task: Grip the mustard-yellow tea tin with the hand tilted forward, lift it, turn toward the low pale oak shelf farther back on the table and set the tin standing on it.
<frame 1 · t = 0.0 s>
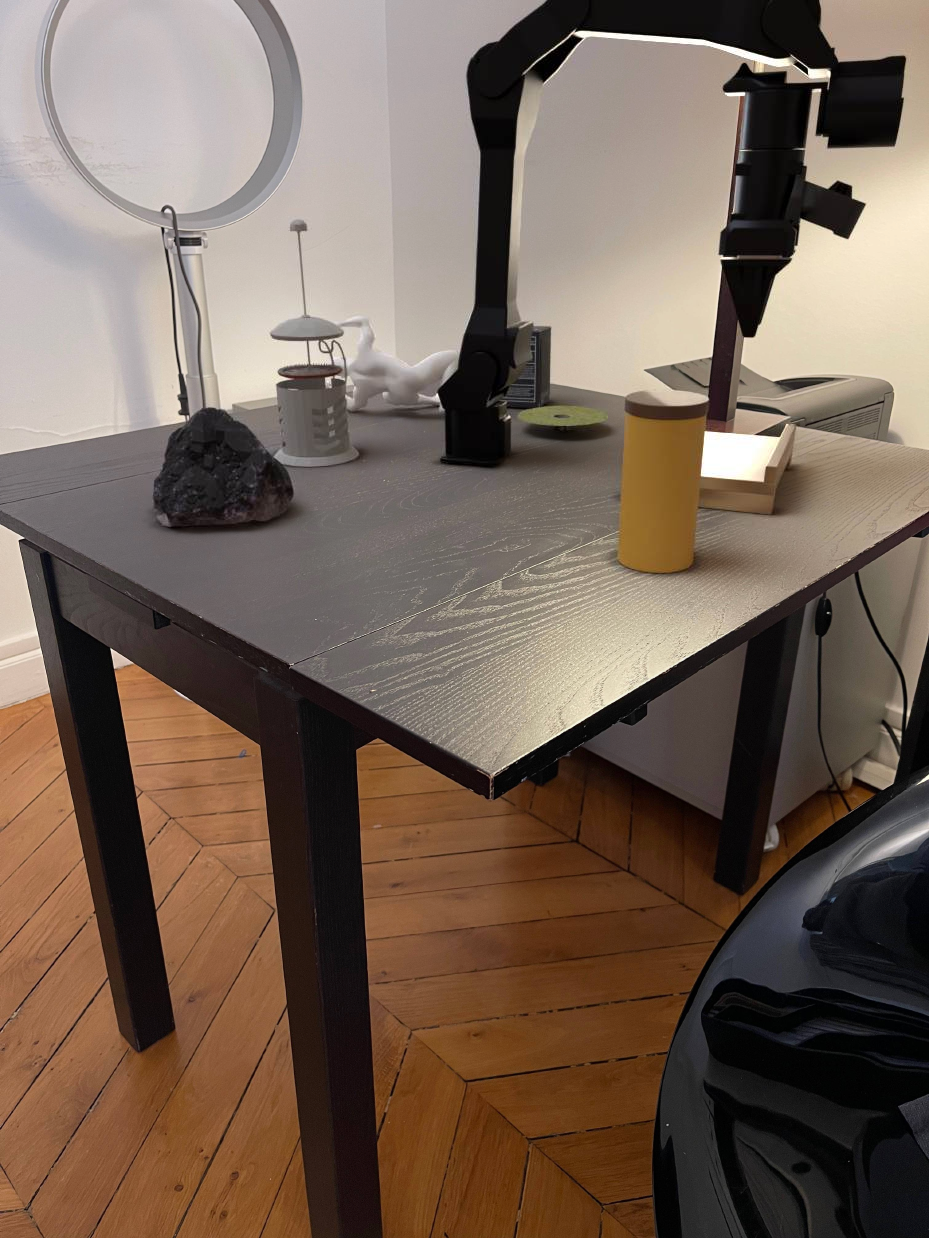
hand: (752, 331, 90), 15 cm above the table, tool pointing down, fingers open, 9 cm apart
tea tin: (654, 559, 75), on the table
green disc: (561, 431, 117), on the table
white curved figure: (395, 415, 127), on the table
small box: (510, 404, 132), on the table
french press: (320, 455, 108), on the table
oak shelf: (710, 481, 95), on the table
crystal cluster: (223, 512, 89), on the table
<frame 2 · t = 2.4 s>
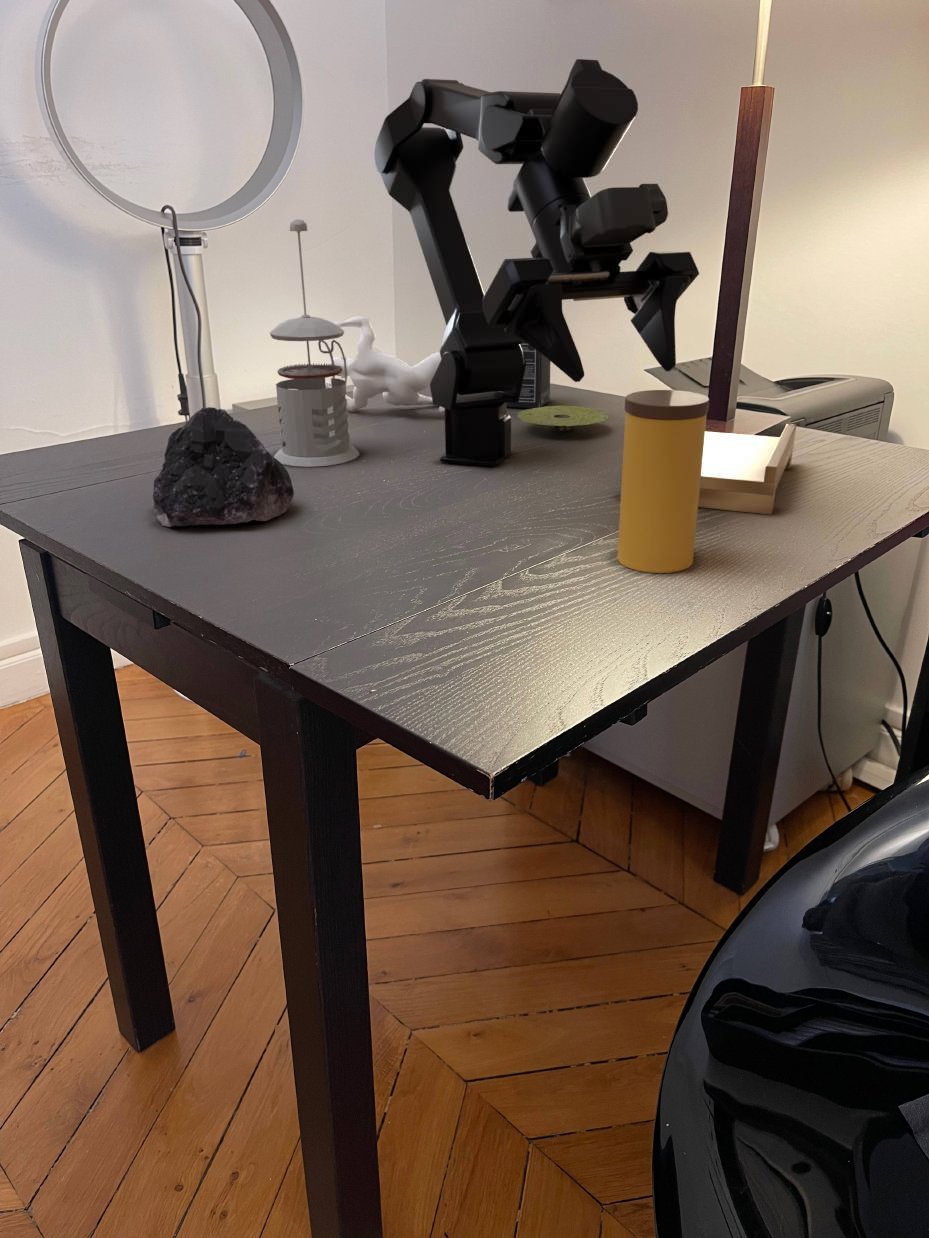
hand: (626, 373, 77), 13 cm above the table, tool tilted 40°, fingers open, 9 cm apart
nothing on the table moved.
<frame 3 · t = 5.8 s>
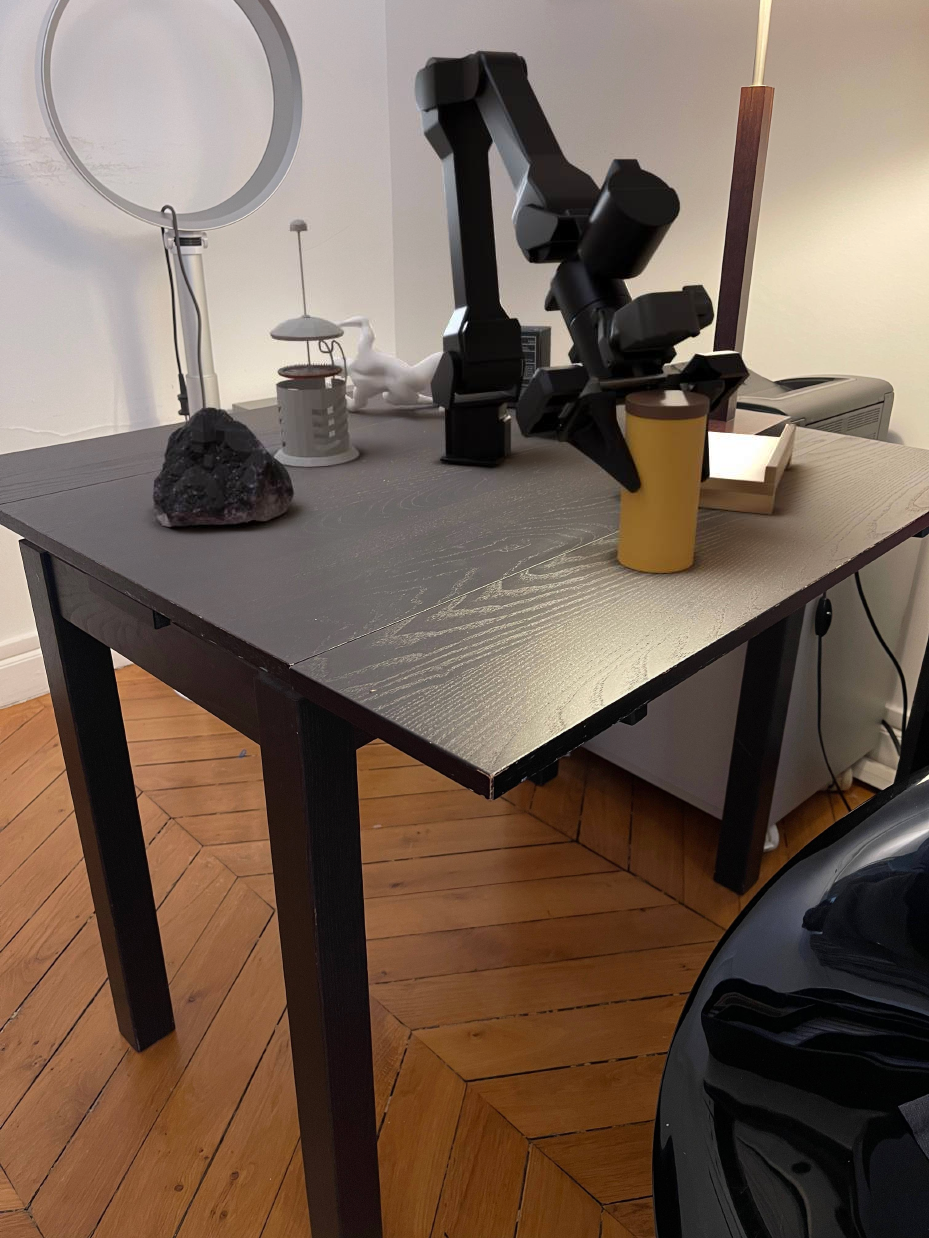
hand: (671, 485, 71), 7 cm above the table, tool tilted 45°, fingers closed on tea tin, 6 cm apart
tea tin: (654, 559, 75), on the table, touching gripper
everything else where it was.
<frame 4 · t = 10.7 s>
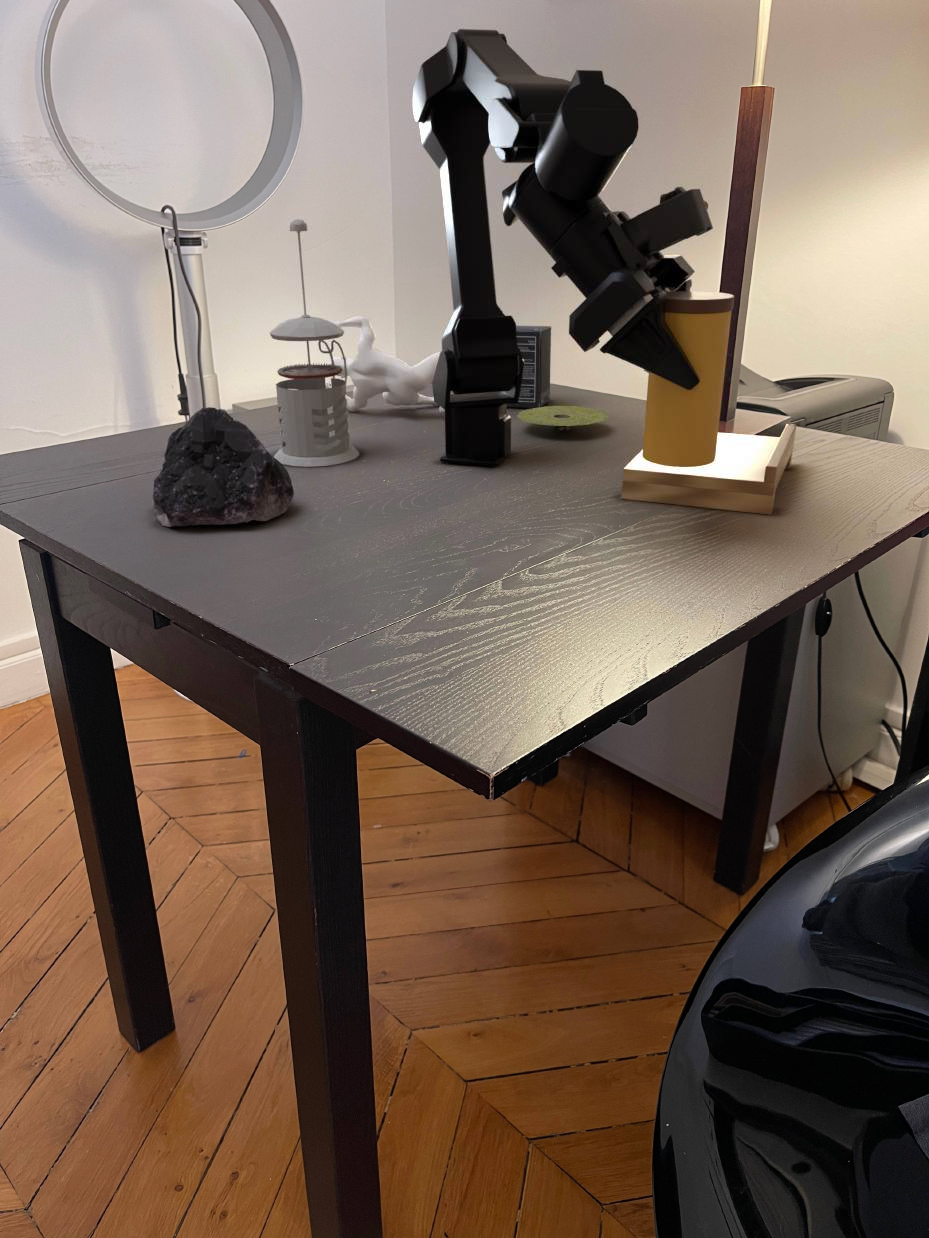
hand: (702, 378, 75), 13 cm above the table, tool tilted 45°, fingers closed on tea tin, 6 cm apart
tea tin: (678, 457, 78), point 7 cm above the table, touching gripper
everything else where it was.
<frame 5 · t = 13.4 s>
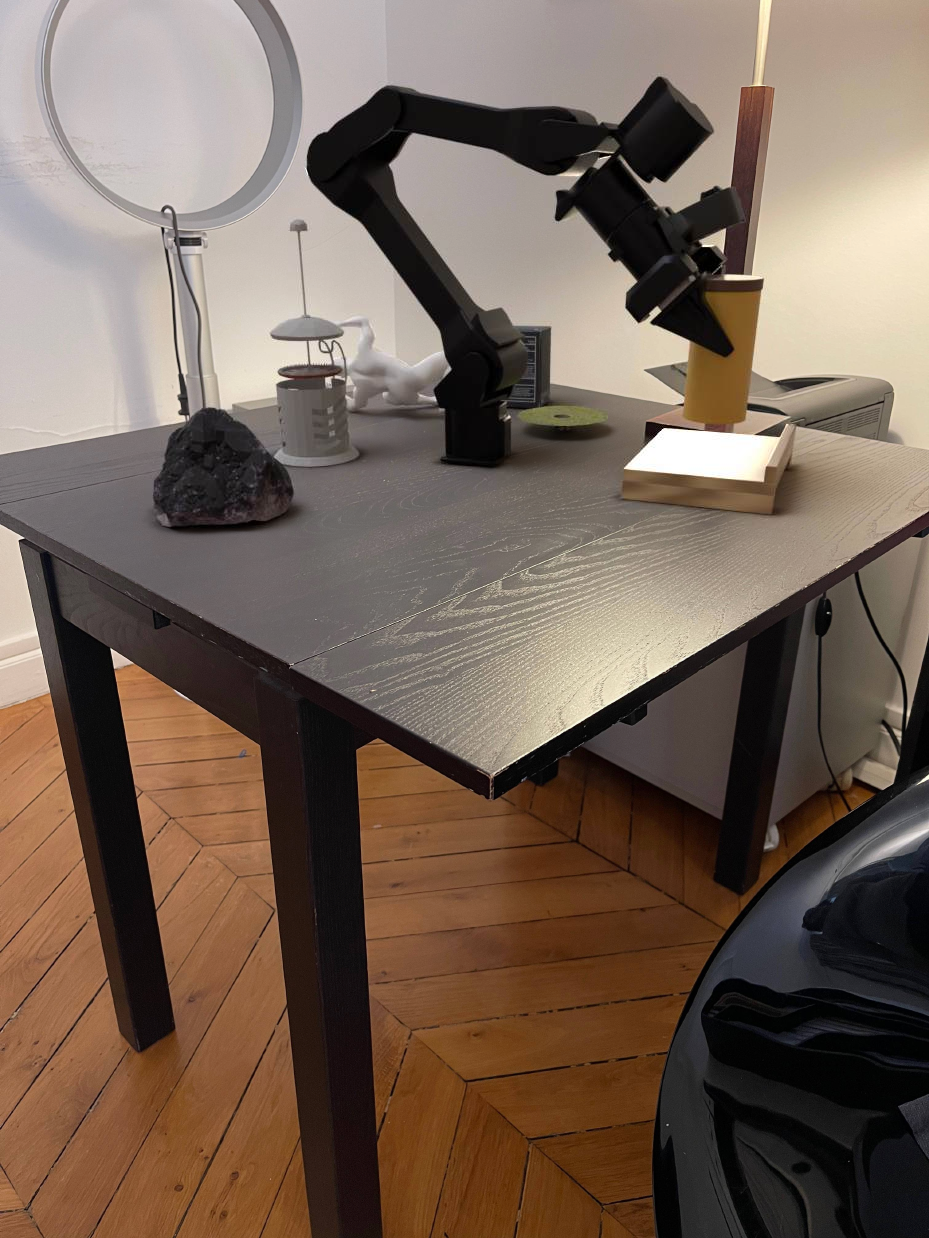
hand: (735, 349, 88), 13 cm above the table, tool tilted 45°, fingers closed on tea tin, 6 cm apart
tea tin: (713, 417, 91), point 7 cm above the table, touching gripper
everything else where it was.
when the fingers open (10 cm above the table, at t = 15.4 s): tea tin stays where it is, resting on oak shelf.
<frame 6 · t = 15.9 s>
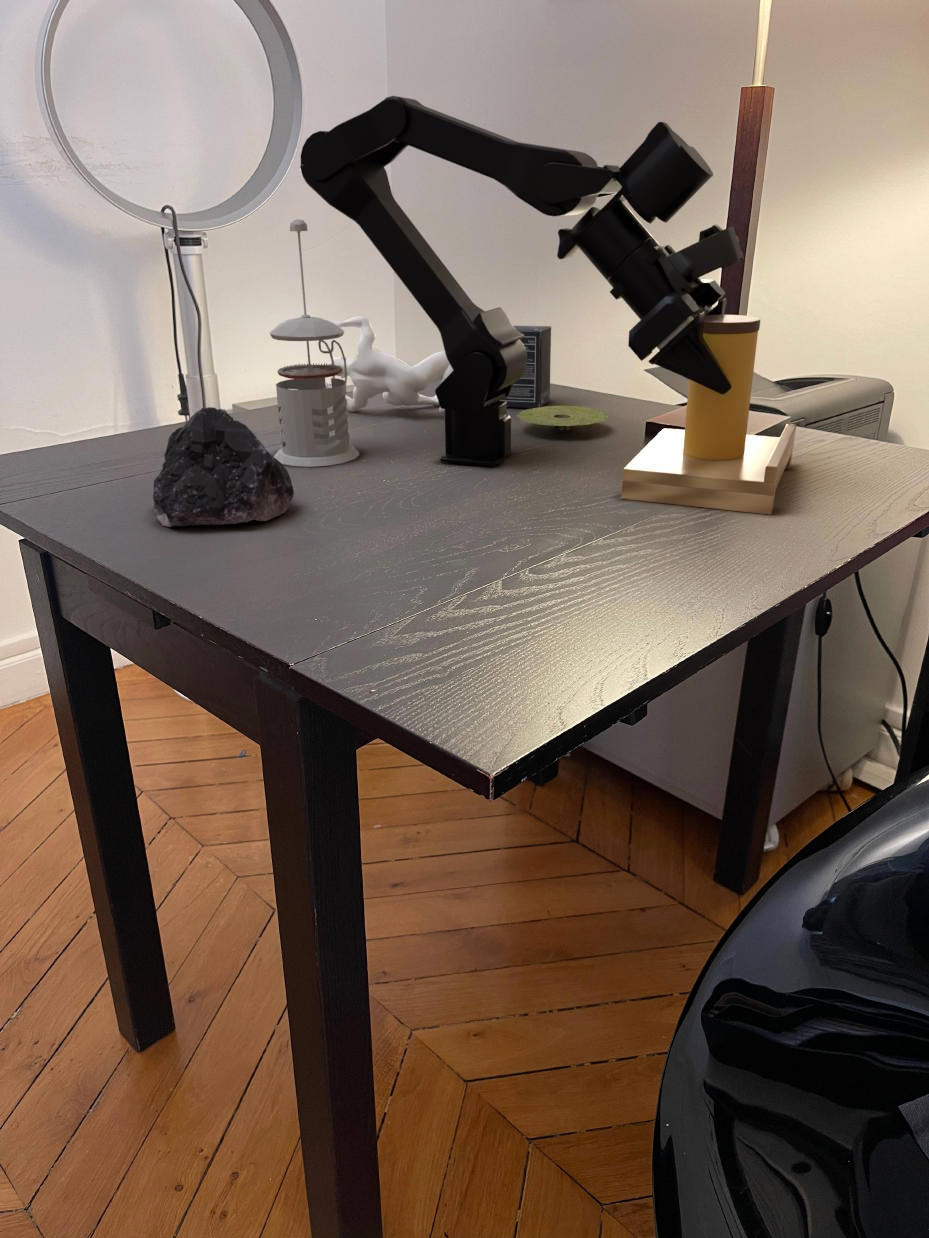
hand: (735, 382, 90), 10 cm above the table, tool tilted 45°, fingers open, 9 cm apart
tea tin: (713, 452, 94), point 3 cm above the table, touching oak shelf
everything else where it was.
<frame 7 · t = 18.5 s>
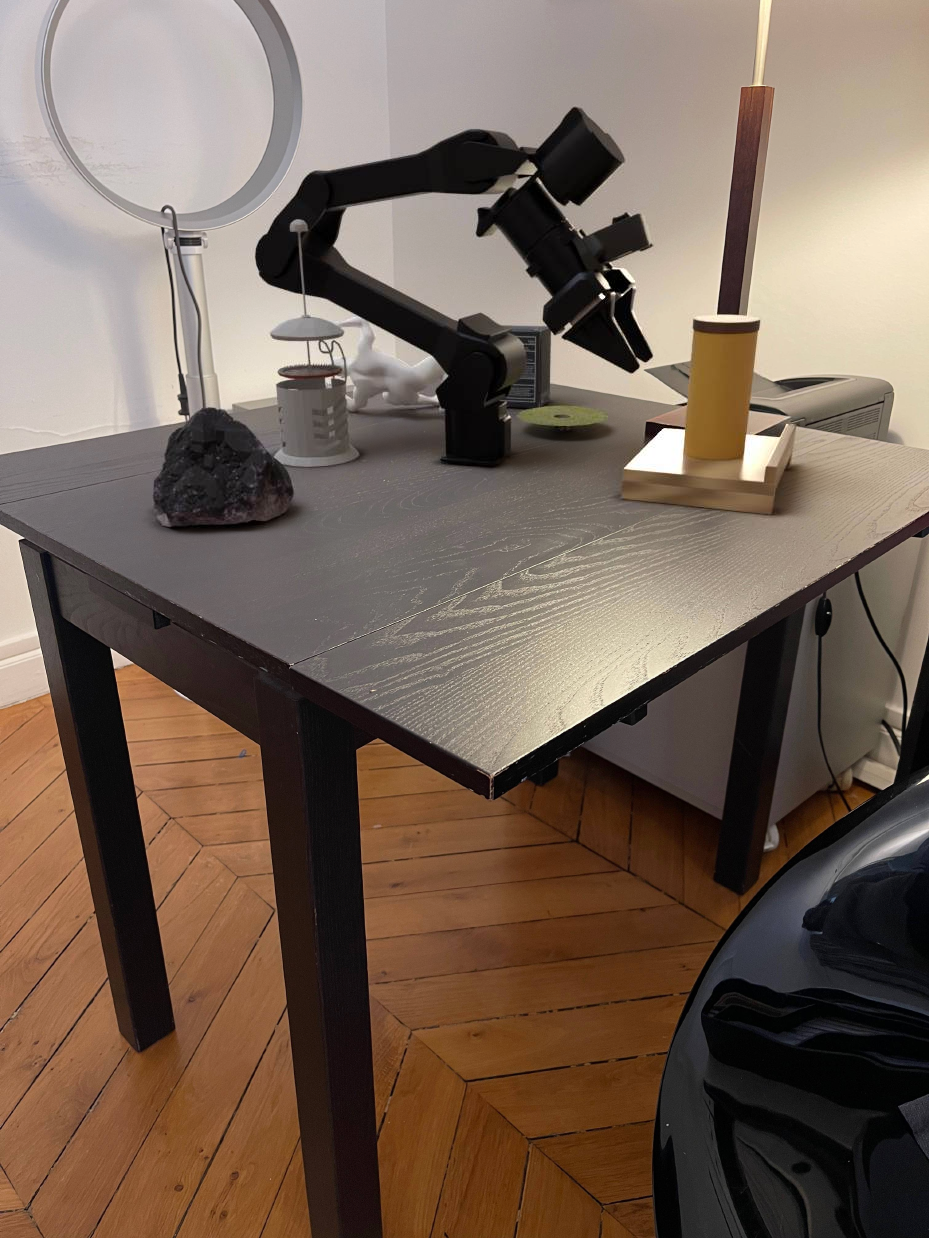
hand: (643, 365, 94), 11 cm above the table, tool tilted 40°, fingers open, 9 cm apart
nothing on the table moved.
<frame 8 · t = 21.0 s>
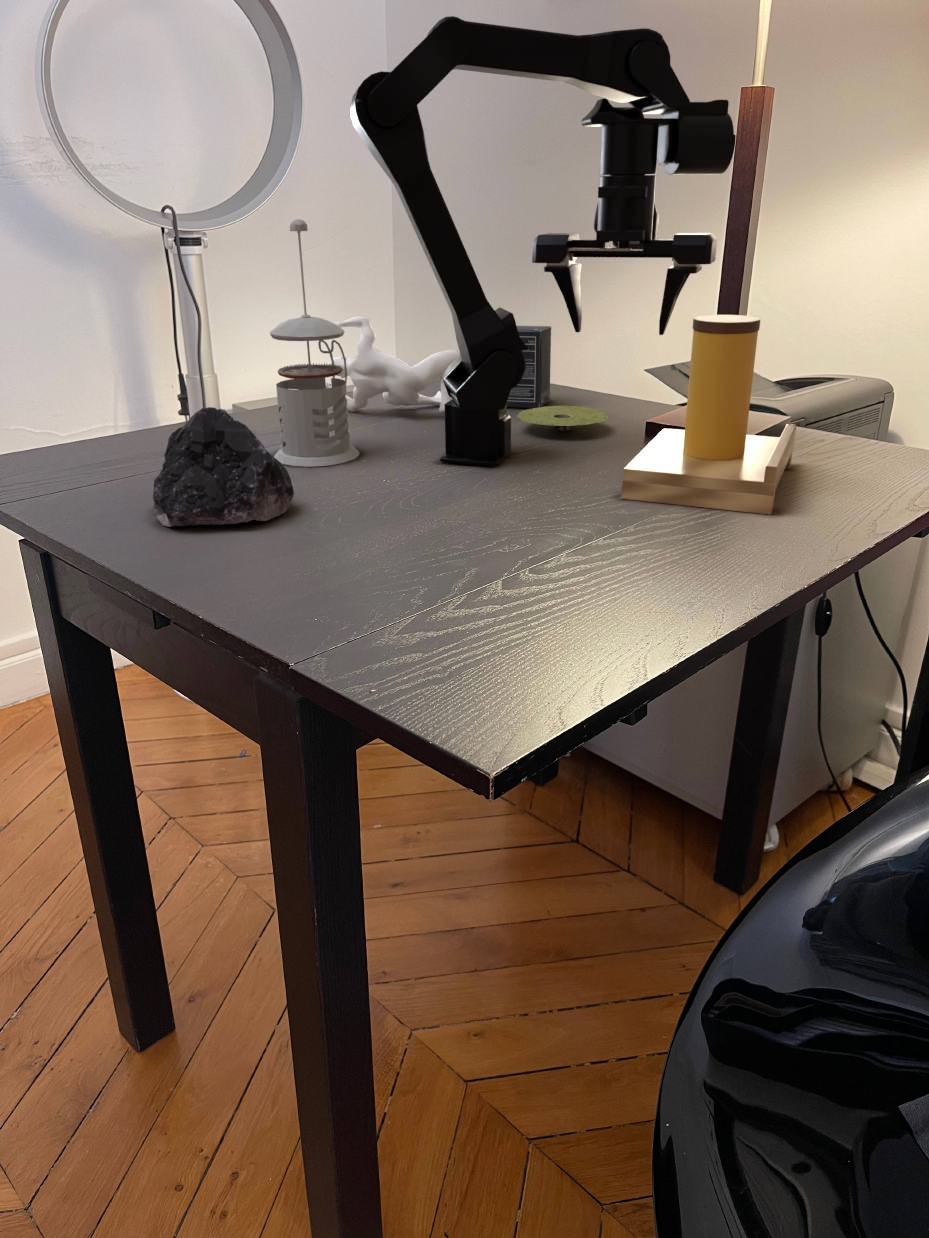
hand: (619, 333, 102), 13 cm above the table, tool pointing down, fingers open, 9 cm apart
nothing on the table moved.
at the end: tea tin inside the target area on the oak shelf (0.0 cm from its centre), point 3.0 cm above the oak shelf's base; tea tin tilted 0°; the gripper is holding nothing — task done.
